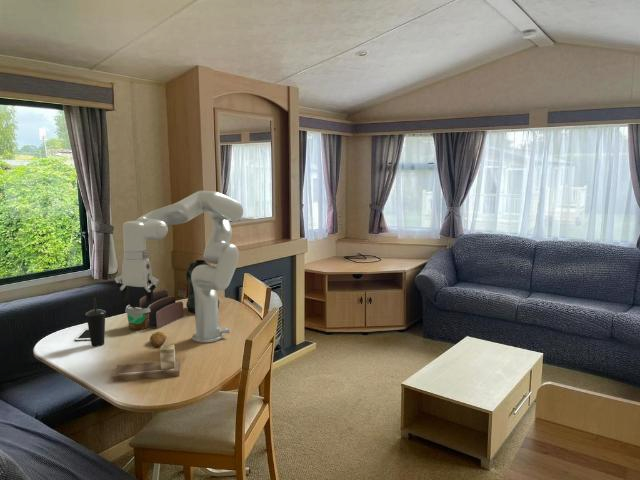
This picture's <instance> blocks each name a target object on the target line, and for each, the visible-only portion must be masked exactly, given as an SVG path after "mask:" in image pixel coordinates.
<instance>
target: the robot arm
mask: <svg viewBox="0 0 640 480" xmlns="http://www.w3.org/2000/svg"><path fill="white" fill-rule="evenodd" d="M205 212H206V213H208V215H209V217H210V220H211V222H212V231H211V233H210V236H209V238H208V240H207V243H206V245H205V248H204V252H203V259H204V260H205V262H206V263H210V264H214V265H216V266H214V265H210V264H208V265H199V266H197V267H195V268H194V270H193V271H192V274H191V280H192V285H193V289H194V297H195V314H194V319H195V322H194V323H195V332H194V334H192V336H191V339H192V340H193V341H194V342H197V343H213V342H216V341H219V340H222V338H223V334H230V328H227V327H220V324H219V309H218V300H219V297H218V293H217V292H218V291H219V292H221V291H224V290H227V288H228V287H229V285H230V284H231V281H232V280H233V279H232V278H233V276H234V273H235V271H236V268H237V266H238V263H239V259H240V251H239V248H238V247H237V245H235V244H233V243H230V242H231V239H232V235H233V228H232V226H231V222H236V221H239V220H240V219H241V218H242V217H243V215H244V207H243V205H242V203H240V201H238V200H236V199H234V198H232V197H230V196H227V195H225V194H223V193H221V192H219V191H215V190H198V191H195V192H194V193H192V194H190V195H188V196H187V197H185V198H183V199H181V200H179V201H177V202H175V203H173V204H172V203H171V204H169V205H166V206H163V207H160V208H157V209H154V210H151V211H149V212H147V213H146V214H143V215H141V216H140V217H137V219H136V220H130V221H129V220H128V221H126V222H124V223H123V224H122V238H123V259H122V265H121V274H120V275H118V276H116V277H115V278H114V281H115V283H116V286H117V287H118V288H119V291H121V298H122V302H126V301H128V300H130V289H129V287H136V288H144V289H145V290H146V292H145V296H146V302H147V303H149V302H152V301H153V292H154V291H155V289H156V288H158V284H159V282H160V279H158V278H157V277H155V276H153V274H152V272H153V271H152V267H151V266H152V265H151V262H150V260H149V259H150V258H147V257H150V253H149V252H148V251H147V243H146V241H148V240H151V241H157V240H162V239H164V238H165V237H166V236H167V234H168V232H169V227H168V226H173V225H174V226H176V225H182V224H184V223H185V224H186V223H188V222H189V221H192V220H193V219H195V218H196V217H198V216H200V215H202V214H203V213H205ZM230 221H231V222H230ZM209 265H210V266H209Z"/></svg>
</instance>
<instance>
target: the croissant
mask: <svg viewBox="0 0 640 480" xmlns="http://www.w3.org/2000/svg"><path fill="white" fill-rule="evenodd" d="M150 335H151V336H150V338H149V340H150V342H151V344H152V345H153V346H154V347H155V348H161V346H162V345H164V343H165V341H166V340H167V338H168V337H167V335H166V334H165V333H164V332H160V331H157V332H153V333H151V334H150Z"/></svg>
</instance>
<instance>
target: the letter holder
mask: <svg viewBox="0 0 640 480" xmlns="http://www.w3.org/2000/svg"><path fill="white" fill-rule="evenodd" d="M138 307H141V308H148V307H149V308H150V311H151V312H149V328H148V329H155V330H158V329H160V328H162V327H165V326H167V325H169V324H172V323H173V322H175V321H177V320H179V319H181V318H184V317H185V314H184V313H185V312H184V303H183V301H176V296H175V295H169V290H168V289H167V288H164V289H159V290H154V291H153V301H152V302H149V303H147V302H146V295H144V296H142V297H141V298H140V299H138Z"/></svg>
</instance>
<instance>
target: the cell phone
mask: <svg viewBox="0 0 640 480" xmlns="http://www.w3.org/2000/svg"><path fill="white" fill-rule="evenodd" d="M74 342H91V339H90V333H89V328H88V327H87V328H85V329H84V330H82V331H81V332H80V333H79V334H78V335H77V336H76V337H75V338H74Z"/></svg>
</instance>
